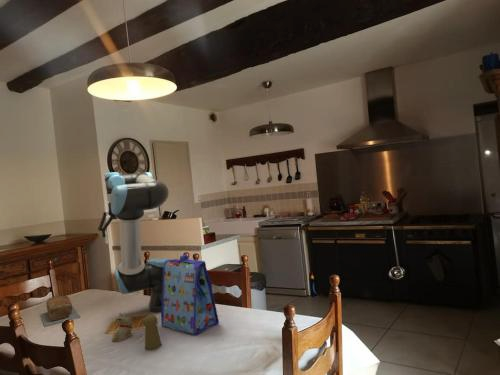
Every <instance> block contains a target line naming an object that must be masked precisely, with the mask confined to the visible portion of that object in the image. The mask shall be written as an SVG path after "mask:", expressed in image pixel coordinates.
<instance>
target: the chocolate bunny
mask: <svg viewBox="0 0 500 375" xmlns="http://www.w3.org/2000/svg"><path fill="white" fill-rule="evenodd" d="M115 321H116V322H118V324H119V326H118V327H117V328H116V329H115V330H114V332H113V336H112V339H111V341H112V343H114V342H120V341H121V342H122V341H124V340H127V339H129V338H130V337H131V336H132V335H133V334H132V329H133V326H132V325H133V321H132V318H131V317H128V316H125V315H124V314H123V313H121V312H118V315H117V316H116V317H115Z"/></svg>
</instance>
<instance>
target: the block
mask: <svg viewBox="0 0 500 375" xmlns="http://www.w3.org/2000/svg"><path fill="white" fill-rule="evenodd" d="M45 304H46V309H47V312H48V314H49V317H50V319H51V320H53V321H57V320H60V319H64V318H67V317H68V316H69V314H70V313H71V312H72V306H73V304H72V300H71V299H70V297H69V296H68V295H57V296H53V297H52V296H51V297H50V298H48V299H46V303H45Z"/></svg>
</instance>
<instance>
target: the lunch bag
mask: <svg viewBox="0 0 500 375" xmlns="http://www.w3.org/2000/svg"><path fill="white" fill-rule="evenodd" d="M212 285H213V284H212V281H211V278H210V276H209V273H208V270H207V264H206V261H205V260H197V259H190V258H188V254H182V255H180V256H179V258H175V259H170V260H166V261H165V263H164V267H163V286H162V287H163V289H162V310H161V312H160V313H161V315H160V317H161V318H160V319H161V320H160V321H161V324H160V325H161V326H163V327H166V328H169V329H173V330H175V331H179V332H183V333H186V334H187V333H188V334H190V335H194V336H197V335H199V333H201V332H202V331H204V330H207V328H208V327H212V326H216V325H218V324H219V323H220V321H219V317H218V311H217V306H216V303H215V297H214V293H213V286H212Z"/></svg>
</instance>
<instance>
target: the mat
mask: <svg viewBox="0 0 500 375" xmlns="http://www.w3.org/2000/svg"><path fill="white" fill-rule="evenodd" d="M40 314H41V315H40V318H41V317H42V318H41V320H42V323H43V325H44V327H45V328H47V327H50V326H55V325H56V324H60V323H64V322H63V321H64V320H66V319H72V320H75V319H78V318H81V315H80V314H79V313H78V311H77V310H76V309H75V307H74V306H73V305H72V312H71V313H70V314H69V316H68V317H67V318H64V319H60V320H57V321H53V320H51V319H50V317H49V314H48V311H47V312H46V311H45V312H42V313H40ZM73 318H74V319H73Z"/></svg>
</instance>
